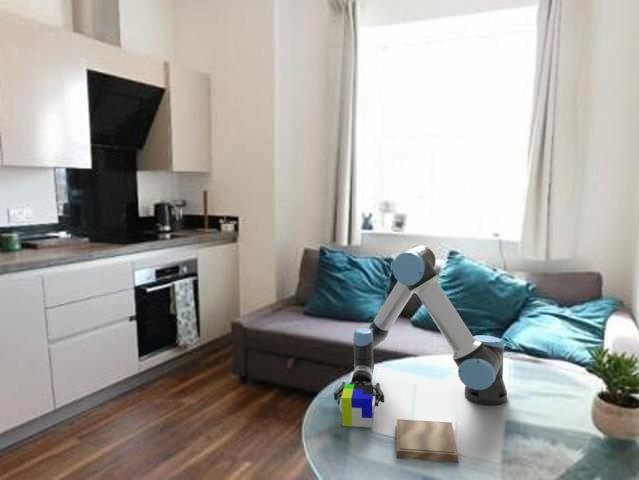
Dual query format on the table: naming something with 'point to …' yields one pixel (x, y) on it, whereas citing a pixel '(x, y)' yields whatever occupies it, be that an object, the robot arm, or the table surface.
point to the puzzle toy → (357, 405)
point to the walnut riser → (426, 441)
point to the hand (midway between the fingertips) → (356, 408)
